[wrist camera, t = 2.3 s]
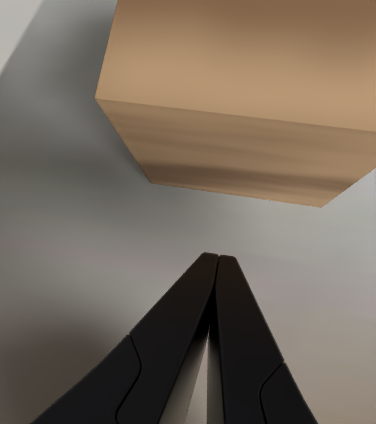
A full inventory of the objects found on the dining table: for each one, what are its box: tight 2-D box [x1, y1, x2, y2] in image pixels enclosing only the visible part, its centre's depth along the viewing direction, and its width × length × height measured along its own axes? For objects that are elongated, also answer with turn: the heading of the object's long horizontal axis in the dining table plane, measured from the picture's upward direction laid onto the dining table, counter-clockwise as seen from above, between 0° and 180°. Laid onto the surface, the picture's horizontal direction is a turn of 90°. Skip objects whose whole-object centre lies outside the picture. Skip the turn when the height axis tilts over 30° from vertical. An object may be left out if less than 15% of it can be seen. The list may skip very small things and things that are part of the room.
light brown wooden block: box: [95, 0, 376, 207], centre depth 16 cm, size 5×10×10 cm, turn 80°
